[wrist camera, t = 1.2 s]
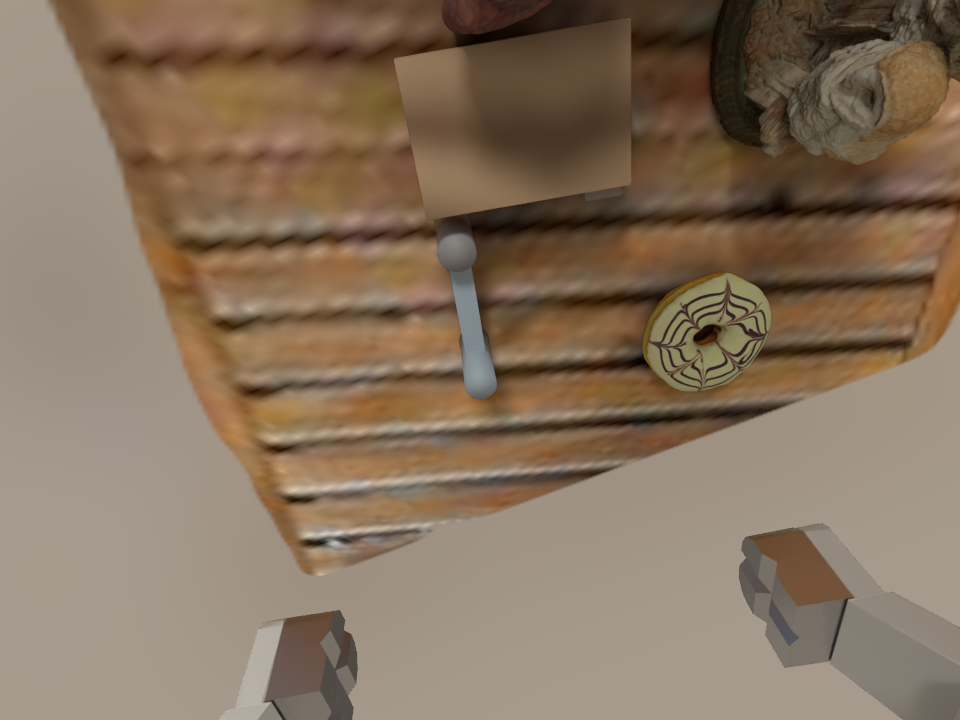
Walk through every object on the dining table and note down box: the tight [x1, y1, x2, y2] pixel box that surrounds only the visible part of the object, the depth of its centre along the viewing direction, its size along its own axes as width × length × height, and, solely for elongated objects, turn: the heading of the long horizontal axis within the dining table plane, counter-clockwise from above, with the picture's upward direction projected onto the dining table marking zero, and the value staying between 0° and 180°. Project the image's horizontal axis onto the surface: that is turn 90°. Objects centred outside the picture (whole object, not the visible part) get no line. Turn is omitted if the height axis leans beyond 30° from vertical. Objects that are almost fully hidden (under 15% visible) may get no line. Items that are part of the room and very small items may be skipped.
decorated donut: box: [642, 272, 771, 392], centre depth 47 cm, size 10×11×4 cm
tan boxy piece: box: [394, 17, 631, 234], centre depth 36 cm, size 14×13×7 cm
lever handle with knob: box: [437, 219, 497, 399], centre depth 42 cm, size 12×3×7 cm, turn 9°
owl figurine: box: [710, 0, 960, 165], centre depth 29 cm, size 18×12×17 cm, turn 170°
